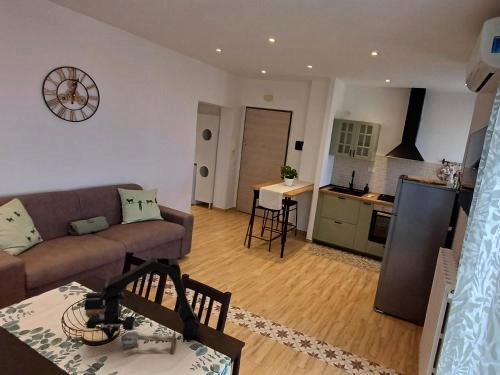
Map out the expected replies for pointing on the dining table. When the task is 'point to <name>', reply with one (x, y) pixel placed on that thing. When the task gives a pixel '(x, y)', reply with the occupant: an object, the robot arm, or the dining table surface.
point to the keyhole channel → (153, 350)
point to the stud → (129, 340)
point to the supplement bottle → (100, 312)
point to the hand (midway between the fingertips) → (110, 339)
